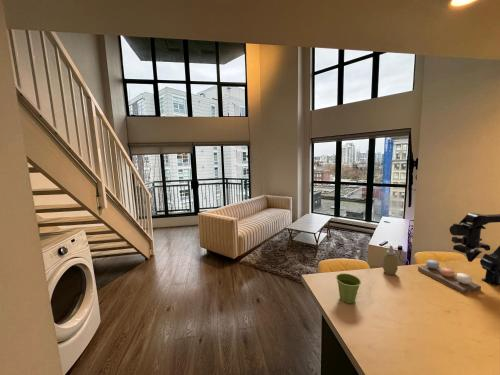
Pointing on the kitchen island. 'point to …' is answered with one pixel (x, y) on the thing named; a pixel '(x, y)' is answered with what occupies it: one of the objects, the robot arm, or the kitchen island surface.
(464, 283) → the cream white rounded ball
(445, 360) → the kitchen island surface
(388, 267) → the squeeze bottle
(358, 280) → the plant pot
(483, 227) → the robot arm
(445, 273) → the peach rounded lump
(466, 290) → the button board
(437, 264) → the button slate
